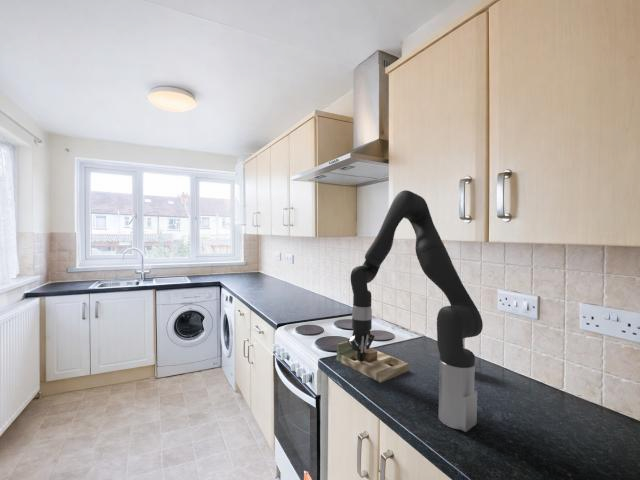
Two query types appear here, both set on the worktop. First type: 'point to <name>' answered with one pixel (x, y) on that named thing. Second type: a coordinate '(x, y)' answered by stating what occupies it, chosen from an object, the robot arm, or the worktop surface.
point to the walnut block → (370, 355)
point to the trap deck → (371, 363)
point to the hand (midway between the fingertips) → (360, 360)
